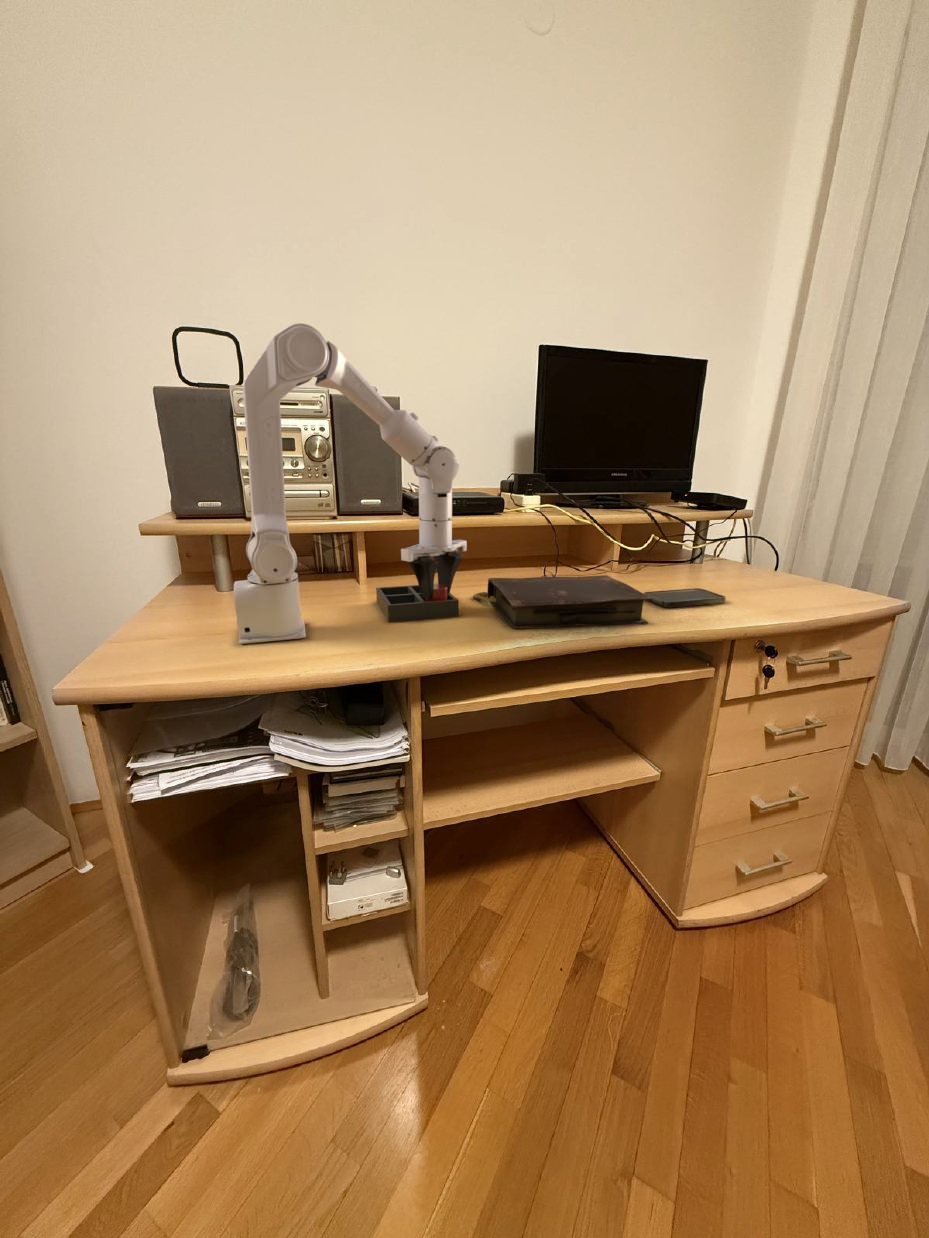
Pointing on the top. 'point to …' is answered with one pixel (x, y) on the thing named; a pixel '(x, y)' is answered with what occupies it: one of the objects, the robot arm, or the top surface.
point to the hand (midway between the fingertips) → (435, 595)
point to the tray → (413, 604)
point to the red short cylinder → (438, 593)
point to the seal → (484, 598)
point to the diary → (566, 601)
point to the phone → (685, 597)
